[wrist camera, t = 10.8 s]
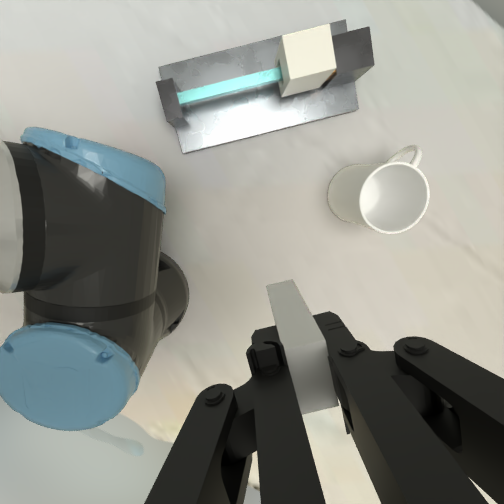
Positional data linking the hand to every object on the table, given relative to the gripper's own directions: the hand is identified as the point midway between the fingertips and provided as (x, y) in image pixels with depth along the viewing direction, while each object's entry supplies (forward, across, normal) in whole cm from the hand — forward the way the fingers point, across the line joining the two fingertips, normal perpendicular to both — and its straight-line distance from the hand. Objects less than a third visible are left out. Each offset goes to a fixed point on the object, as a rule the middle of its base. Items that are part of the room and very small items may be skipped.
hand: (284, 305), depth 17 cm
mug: (+31, +17, +2) cm, 35 cm away
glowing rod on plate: (+30, +5, +18) cm, 36 cm away
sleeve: (+27, +10, +18) cm, 34 cm away
